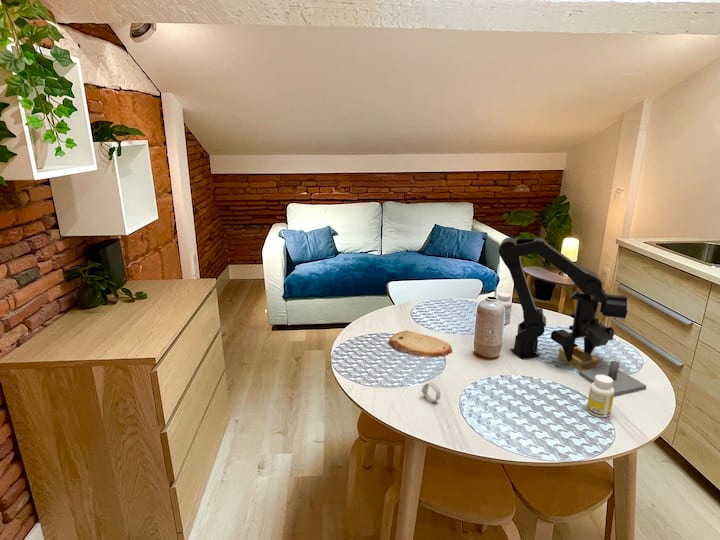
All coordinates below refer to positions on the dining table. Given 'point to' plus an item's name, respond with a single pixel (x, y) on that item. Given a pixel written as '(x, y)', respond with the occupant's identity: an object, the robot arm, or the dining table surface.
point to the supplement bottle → (601, 396)
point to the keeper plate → (617, 384)
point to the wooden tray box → (580, 359)
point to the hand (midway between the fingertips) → (577, 359)
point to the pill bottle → (506, 305)
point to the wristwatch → (425, 390)
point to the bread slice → (419, 344)
